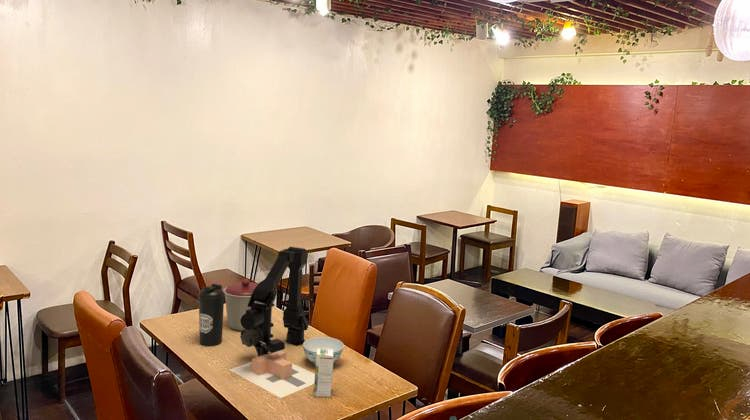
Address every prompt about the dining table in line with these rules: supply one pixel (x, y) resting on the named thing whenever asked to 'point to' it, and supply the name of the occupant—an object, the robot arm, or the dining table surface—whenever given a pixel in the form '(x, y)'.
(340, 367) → the dining table surface
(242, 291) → the canister
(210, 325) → the water bottle
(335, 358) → the chinaware
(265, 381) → the mat
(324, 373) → the syrup box
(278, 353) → the t block
